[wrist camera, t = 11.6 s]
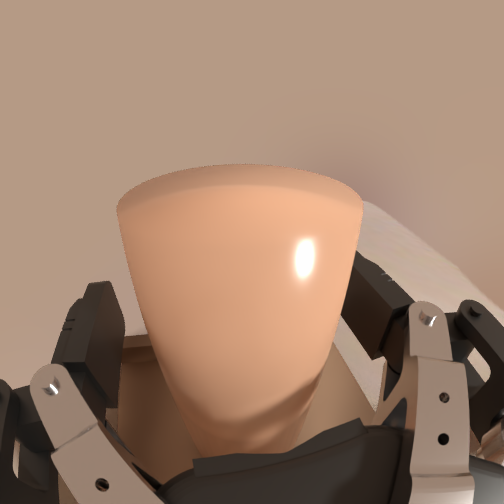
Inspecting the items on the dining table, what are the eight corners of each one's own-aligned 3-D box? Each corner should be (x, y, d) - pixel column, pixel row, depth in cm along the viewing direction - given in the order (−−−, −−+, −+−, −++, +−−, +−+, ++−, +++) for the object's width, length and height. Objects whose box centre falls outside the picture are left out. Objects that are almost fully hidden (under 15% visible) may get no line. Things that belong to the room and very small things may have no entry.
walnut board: (133, 528, 7) (108, 523, 5) (129, 365, 17) (115, 337, 16) (393, 472, 10) (417, 455, 8) (317, 335, 20) (323, 305, 18)
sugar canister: (199, 480, 9) (81, 265, 3) (186, 392, 14) (138, 173, 8) (312, 459, 10) (417, 231, 4) (281, 378, 15) (304, 162, 9)
